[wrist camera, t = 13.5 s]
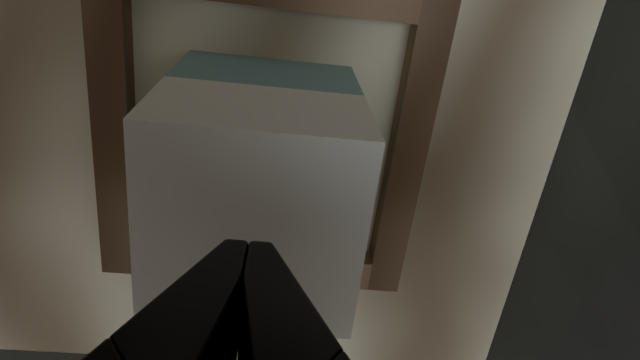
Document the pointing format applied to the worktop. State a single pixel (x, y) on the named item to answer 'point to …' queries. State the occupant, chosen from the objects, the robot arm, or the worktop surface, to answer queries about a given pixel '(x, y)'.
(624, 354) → the worktop surface
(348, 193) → the block stack
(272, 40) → the seating plate
